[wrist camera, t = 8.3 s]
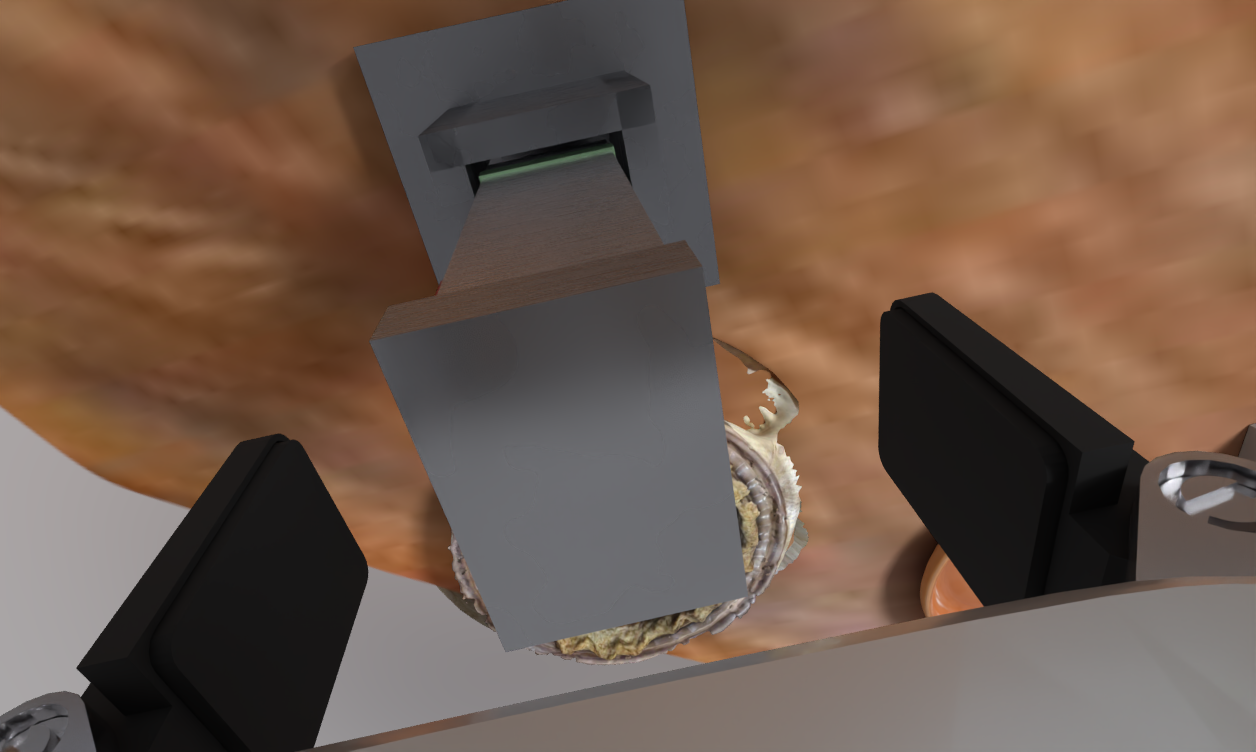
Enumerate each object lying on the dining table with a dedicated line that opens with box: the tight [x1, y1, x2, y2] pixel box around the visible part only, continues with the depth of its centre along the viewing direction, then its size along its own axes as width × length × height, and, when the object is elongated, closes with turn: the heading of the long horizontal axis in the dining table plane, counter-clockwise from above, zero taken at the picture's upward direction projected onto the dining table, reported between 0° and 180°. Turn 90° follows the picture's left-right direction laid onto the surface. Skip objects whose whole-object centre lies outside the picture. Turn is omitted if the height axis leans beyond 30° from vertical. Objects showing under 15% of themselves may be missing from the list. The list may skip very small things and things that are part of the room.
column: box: [369, 139, 748, 652], centre depth 18 cm, size 6×5×17 cm
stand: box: [353, 0, 720, 296], centre depth 27 cm, size 14×14×11 cm
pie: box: [437, 338, 809, 665], centre depth 41 cm, size 28×27×5 cm
